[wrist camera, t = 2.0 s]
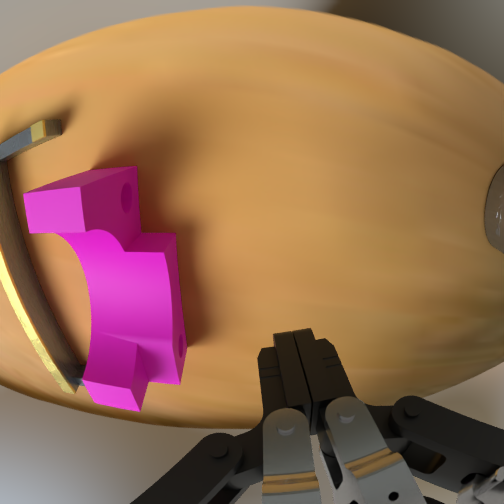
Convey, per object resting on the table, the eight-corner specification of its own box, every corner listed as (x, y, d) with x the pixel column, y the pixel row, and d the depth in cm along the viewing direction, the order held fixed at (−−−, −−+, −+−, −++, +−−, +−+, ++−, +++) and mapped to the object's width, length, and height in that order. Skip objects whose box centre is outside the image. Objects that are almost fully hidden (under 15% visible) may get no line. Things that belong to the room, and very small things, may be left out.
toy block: (187, 345, 23) (174, 416, 16) (122, 340, 22) (94, 402, 15) (173, 163, 17) (131, 183, 10) (91, 169, 16) (23, 193, 9)
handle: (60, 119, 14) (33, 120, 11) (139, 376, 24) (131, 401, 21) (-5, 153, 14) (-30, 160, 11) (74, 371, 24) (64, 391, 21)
